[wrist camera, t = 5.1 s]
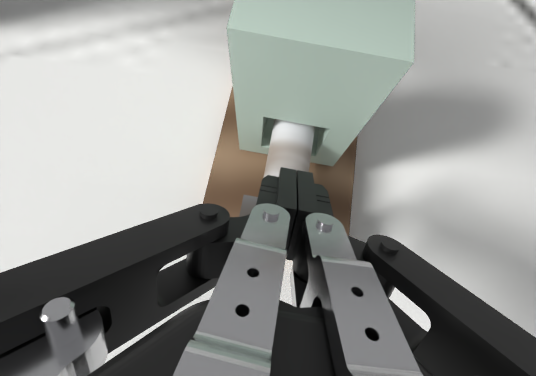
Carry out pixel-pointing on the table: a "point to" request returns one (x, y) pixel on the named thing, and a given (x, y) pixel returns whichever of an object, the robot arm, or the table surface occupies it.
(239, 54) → the pale green rectangular block
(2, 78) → the table surface
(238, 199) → the pipe stand
